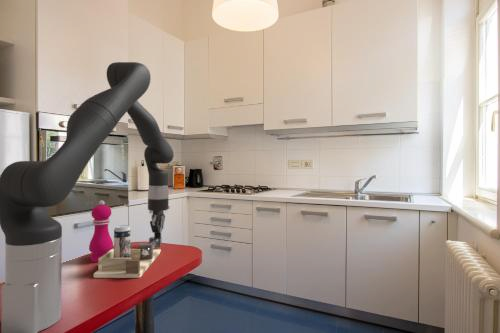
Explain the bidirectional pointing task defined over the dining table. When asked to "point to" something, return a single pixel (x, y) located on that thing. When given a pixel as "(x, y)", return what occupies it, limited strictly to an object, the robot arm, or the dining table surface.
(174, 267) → the dining table surface
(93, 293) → the dining table surface
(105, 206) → the pink pepper grinder
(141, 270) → the birch holder
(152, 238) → the silver and grey bar
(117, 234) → the beer can
